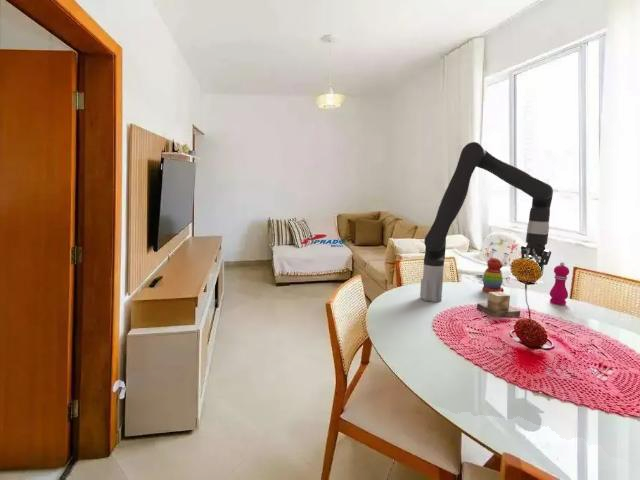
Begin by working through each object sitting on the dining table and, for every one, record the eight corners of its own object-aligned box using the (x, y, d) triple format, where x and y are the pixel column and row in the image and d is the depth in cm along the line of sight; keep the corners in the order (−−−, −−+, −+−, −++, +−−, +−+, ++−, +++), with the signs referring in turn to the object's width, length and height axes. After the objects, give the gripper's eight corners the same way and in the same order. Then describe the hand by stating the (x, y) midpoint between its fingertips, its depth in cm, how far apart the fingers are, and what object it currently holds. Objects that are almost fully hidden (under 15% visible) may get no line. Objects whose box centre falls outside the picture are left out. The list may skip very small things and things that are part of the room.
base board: (494, 316, 146) (494, 312, 146) (477, 307, 158) (477, 303, 157) (519, 315, 148) (520, 311, 148) (500, 306, 160) (501, 302, 159)
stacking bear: (502, 295, 178) (505, 261, 176) (480, 291, 183) (483, 258, 181) (503, 290, 187) (506, 257, 185) (483, 287, 192) (485, 255, 190)
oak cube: (496, 309, 149) (497, 296, 148) (487, 305, 155) (488, 292, 154) (508, 309, 150) (510, 295, 149) (499, 304, 156) (500, 291, 155)
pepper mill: (565, 302, 168) (570, 261, 165) (568, 306, 161) (573, 264, 158) (547, 300, 171) (552, 260, 168) (550, 304, 164) (554, 262, 161)
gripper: (516, 230, 149) (512, 269, 151) (543, 234, 135) (538, 277, 137) (532, 230, 150) (527, 268, 152) (560, 234, 136) (554, 276, 138)
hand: (532, 272), depth 145 cm, fingers closed on green cube, 5 cm apart
